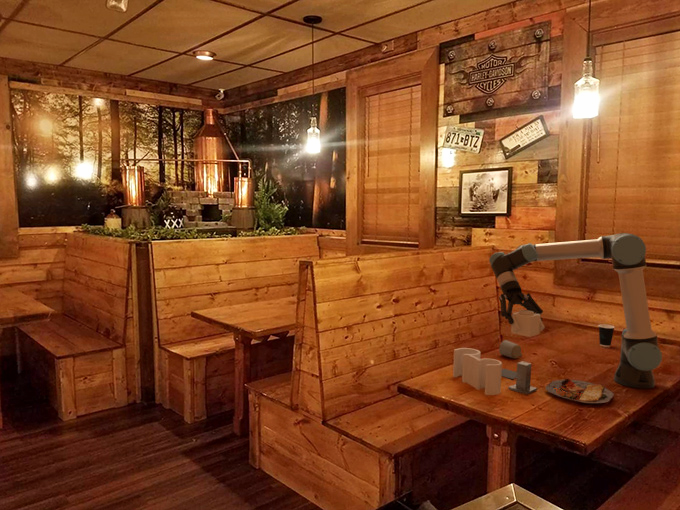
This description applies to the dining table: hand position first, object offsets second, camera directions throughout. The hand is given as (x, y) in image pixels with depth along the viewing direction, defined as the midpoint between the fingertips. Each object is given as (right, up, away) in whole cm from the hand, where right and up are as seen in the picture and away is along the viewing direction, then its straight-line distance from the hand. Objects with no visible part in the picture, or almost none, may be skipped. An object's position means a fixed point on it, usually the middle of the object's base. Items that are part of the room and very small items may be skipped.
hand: (529, 330), depth 206 cm
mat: (-1, -23, +23) cm, 33 cm away
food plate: (+20, -26, +1) cm, 33 cm away
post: (-1, -25, +4) cm, 25 cm away
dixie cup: (+68, -20, +75) cm, 103 cm away
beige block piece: (-1, -2, +3) cm, 4 cm away
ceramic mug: (+9, -21, +51) cm, 56 cm away
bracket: (-18, -24, +10) cm, 32 cm away
